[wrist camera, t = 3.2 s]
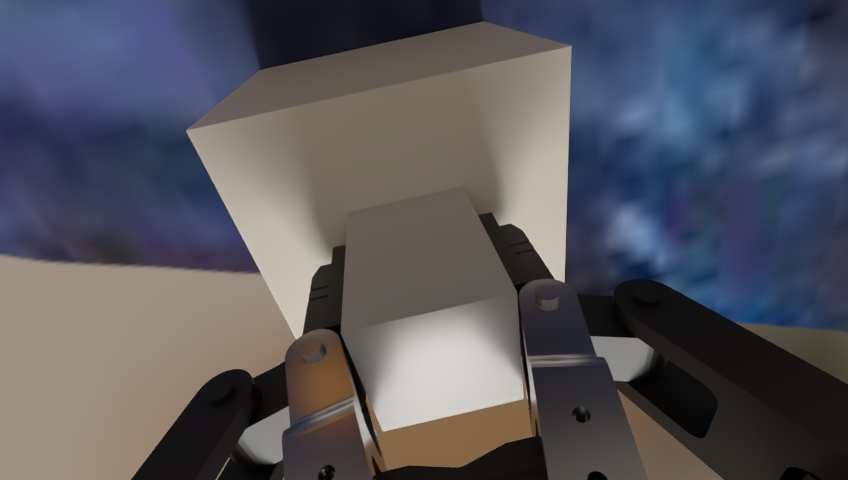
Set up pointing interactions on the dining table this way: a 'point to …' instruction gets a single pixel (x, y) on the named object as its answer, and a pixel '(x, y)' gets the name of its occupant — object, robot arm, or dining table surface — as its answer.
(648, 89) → the dining table surface
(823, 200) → the dining table surface
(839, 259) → the dining table surface
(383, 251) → the cream open-backed crate
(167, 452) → the robot arm
